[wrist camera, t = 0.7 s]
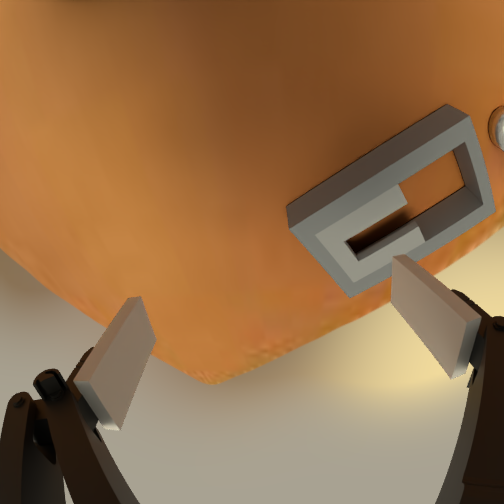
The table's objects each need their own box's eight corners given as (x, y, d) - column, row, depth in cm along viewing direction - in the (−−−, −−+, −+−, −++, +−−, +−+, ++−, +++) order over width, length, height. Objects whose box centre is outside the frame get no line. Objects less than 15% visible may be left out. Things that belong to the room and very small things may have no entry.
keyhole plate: (447, 104, 22) (469, 115, 19) (478, 192, 27) (495, 211, 24) (286, 206, 30) (288, 229, 27) (343, 274, 36) (349, 298, 33)
